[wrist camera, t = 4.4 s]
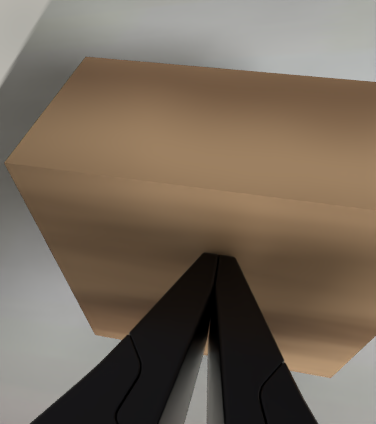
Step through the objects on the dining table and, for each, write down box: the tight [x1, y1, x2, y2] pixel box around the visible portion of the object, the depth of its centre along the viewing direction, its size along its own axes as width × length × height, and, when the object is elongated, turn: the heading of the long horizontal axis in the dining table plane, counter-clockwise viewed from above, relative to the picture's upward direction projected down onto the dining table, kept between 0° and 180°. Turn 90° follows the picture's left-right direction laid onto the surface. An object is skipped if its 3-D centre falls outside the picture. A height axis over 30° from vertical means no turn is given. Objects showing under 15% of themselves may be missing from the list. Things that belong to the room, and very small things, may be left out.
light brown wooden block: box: [4, 57, 376, 378], centre depth 13 cm, size 5×10×10 cm, turn 81°
